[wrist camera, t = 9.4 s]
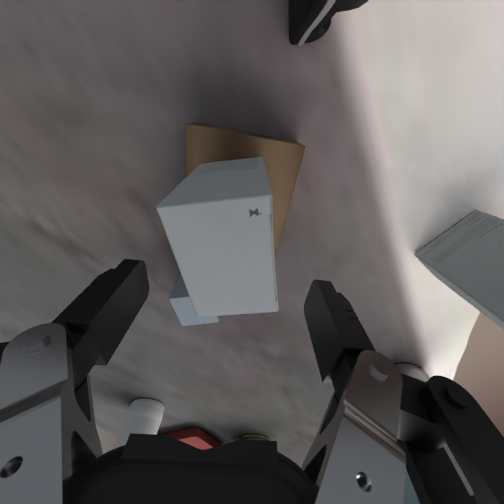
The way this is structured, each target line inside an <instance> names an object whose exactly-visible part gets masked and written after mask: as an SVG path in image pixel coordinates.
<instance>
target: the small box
mask: <svg viewBox="0 0 504 504" xmlns="http://www.w3.org/2000/svg"><path fill="white" fill-rule="evenodd" d="M272 200H273V196H272V192H271V188H270V184H269V180H268V176H267V171H266V167H265V164H264V160H263V157H255V158H246V159H237V160H228V161H219V162H210V163H202V164H200V165H199V166H198V167H197V168H196V169H195V170H194V171H193V172H192V173H191V174H189V175H188V176H187V177H186V178H185V179H184V180H183V181H182V182H181V183H180V184H179V185H178V186H177V187H176V188H175V189H174V190H172V191H171V192H170V193H169V194H168V195H167V196H166V197H165V198H164V199H163V200H162V201H161V202H160V203H159V204H158V205H157V206H156V210H157V212H158V215H159V218H160V220H161V223H162V226H163V228H164V231H165V234H166V236H167V239H168V242H169V244H170V247H171V249H172V252H173V255H174V257H175V260H176V262H177V265H178V268H179V270H180V273H181V276H182V278H183V281H184V284H185V286H186V289H187V292H188V294H189V297H190V300H191V302H192V305H193V308H194V310H195V313H196V316H218V315H234V314H249V313H265V312H276V311H278V310H279V305H278V297H277V287H276V273H275V258H274V241H273V205H272Z"/></svg>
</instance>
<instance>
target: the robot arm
mask: <svg viewBox="0 0 504 504" xmlns="http://www.w3.org/2000/svg"><path fill="white" fill-rule="evenodd" d="M148 293H149V283H148V277H147V271H146V265H145V262H144V261H141V260H131V259H124V260H123V261H122V262H121V263H120V264H119V265H118V266H117V267H116V268H115V269H109V270H108V271H106V272H104V273H102V274H100V275H99V276H98V277H97V278H96V279H95V280H94V281H93V282H92V283H91V284H90V286H88V287H87V288H86V289H85V290H84V291H83V293H81V294H80V295H79V296H78V297H77V298H76V299H75V300H74V301H73V302H72V303H71V304H70V305H69V306H68V307H67V308H66V309H65V310H64V311H63V312H62V313H61V314H60V315H59V316H58V317H57V318H56V319H55V320H54V321H53V322H51V323H47V324H42V325H38V326H35V327H32V328H30V329H28V330H26V331H24V332H22V333H21V334H19V335H17V336H16V337H15V338H14V339H12V340H11V341H10V342H4V343H0V504H403V495H404V482H405V468H406V469H407V472H408V474H409V477H410V479H411V482H412V484H413V487H414V489H415V492H416V494H417V496H418V499H419V502H420V504H504V437H503V436H502V434H501V433H500V432H499V430H498V429H497V428H496V427H495V425H494V424H493V423H492V421H491V420H490V419H489V417H488V416H487V415H486V413H485V412H484V411H483V409H482V408H481V407H480V405H479V404H478V403H477V401H476V400H475V399H474V398H473V397H472V395H470V394H469V393H468V392H467V391H466V390H465V389H464V388H463V387H462V386H460V385H459V384H457V383H456V382H454V381H452V380H450V379H448V378H446V377H443V376H433V377H431V378H430V377H429V376H428V374H427V373H426V371H425V370H424V369H420V368H418V367H417V366H416V365H413V364H408V363H401V364H394V363H393V362H392V361H391V360H389V359H388V358H387V357H385V356H384V355H382V354H380V353H378V352H376V351H375V349H374V347H373V345H372V343H371V341H370V340H369V338H368V336H367V334H366V332H365V330H364V328H363V327H362V325H361V323H360V321H359V320H358V317H357V315H356V313H355V312H354V310H353V308H352V306H351V304H350V302H349V301H348V300H347V299H346V298H345V297H344V296H343V295H342V294H341V293H337V292H336V290H335V288H334V286H333V284H332V283H331V282H330V281H324V280H313V282H312V284H311V287H310V290H309V292H308V295H307V298H306V301H305V304H304V314H305V318H306V322H307V326H308V329H309V333H310V337H311V341H312V344H313V348H314V352H315V356H316V359H317V363H318V367H319V371H320V374H321V378H322V382H323V383H333V386H334V389H335V391H334V393H333V394H332V397H331V400H330V402H329V405H328V407H327V410H326V412H325V415H324V417H323V420H322V423H321V425H320V428H319V430H318V433H317V435H316V438H315V440H314V442H313V444H312V446H311V448H310V450H309V452H308V454H307V456H306V458H305V460H304V463H303V465H302V468H300V467H299V466H298V465H297V464H296V463H294V462H293V461H292V460H291V459H289V458H288V457H286V456H284V455H283V454H281V453H279V452H277V441H265V440H246V439H241V440H238V441H234V442H231V443H227V444H224V445H220V446H217V447H213V448H210V449H206V450H201V449H198V448H196V447H194V446H191V445H189V444H187V443H184V442H182V441H180V440H177V439H175V438H173V437H170V436H168V435H155V434H136V433H130V435H129V437H128V440H127V443H126V445H123V446H120V447H118V448H115V449H113V450H111V451H109V452H107V453H105V454H102V448H101V443H100V439H99V436H98V433H97V429H96V425H95V417H94V409H93V400H92V392H91V383H90V376H89V374H88V373H89V372H90V370H91V369H92V367H93V366H94V365H107V364H108V362H109V360H110V359H111V357H112V355H113V354H114V352H115V350H116V349H117V347H118V345H119V344H120V342H121V340H122V339H123V337H124V335H125V334H126V332H127V330H128V329H129V327H130V325H131V324H132V322H133V320H134V319H135V317H136V315H137V314H138V312H139V310H140V309H141V307H142V306H143V304H144V302H145V301H146V299H147V296H148Z"/></svg>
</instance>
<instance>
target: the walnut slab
mask: <svg viewBox="0 0 504 504" xmlns="http://www.w3.org/2000/svg"><path fill="white" fill-rule="evenodd" d="M304 149H305V146H304V145H302V144H300V143H298V142H293V141H287V140H282V139H277V138H272V137H266V136H261V135H256V134H251V133H245V132H240V131H235V130H229V129H224V128H219V127H214V126H208V125H203V124H198V123H187V124H186V177H187V176H188V175H189V174H191V173H192V172H193V171H194V170H195V169H196V168H197V167H198V166H199V165H200V164H202V163H210V162H219V161H228V160H237V159H246V158H255V157H263V160H264V164H265V167H266V171H267V176H268V180H269V184H270V188H271V192H272V196H273V200H272V205H273V241H274V258H275V257H276V253H277V249H278V245H279V242H280V238H281V234H282V231H283V227H284V223H285V220H286V216H287V212H288V208H289V205H290V201H291V197H292V194H293V190H294V186H295V183H296V179H297V175H298V172H299V168H300V164H301V160H302V157H303V153H304Z"/></svg>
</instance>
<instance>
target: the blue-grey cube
mask: <svg viewBox="0 0 504 504" xmlns="http://www.w3.org/2000/svg"><path fill="white" fill-rule="evenodd" d="M169 300H170V302H171V304H172V306H173V308H174V310H175V312H176V314H177V316H178V318H179V321H180V323H181V325H182V326H188V325H197V324H207V323H217V322H219V320H220V315H218V316H196V313H195V310H194V308H193V305H192V302H191V300H190V297H189V294H188V292H187V289H186V286H185V284H184V281H183V278H182V276H181V274H180V276H179V278H178V280H177V283H176V285H175V287H174V289H173V291H172V294H171V296H170V298H169Z"/></svg>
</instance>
